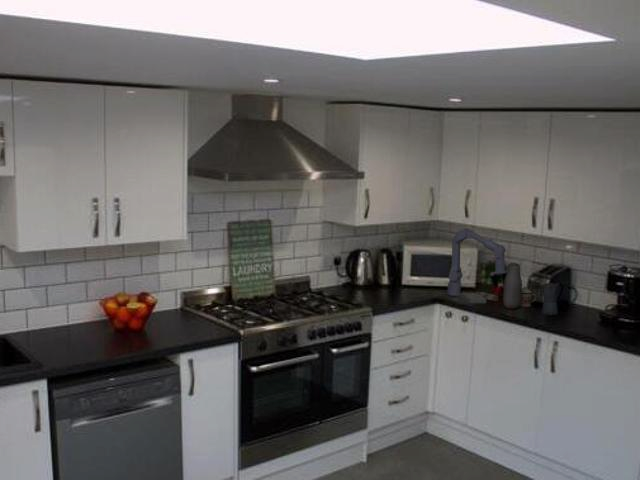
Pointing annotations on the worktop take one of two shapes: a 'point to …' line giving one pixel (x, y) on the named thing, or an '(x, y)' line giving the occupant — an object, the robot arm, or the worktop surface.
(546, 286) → the moka pot
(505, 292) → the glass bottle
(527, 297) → the teacup with lid
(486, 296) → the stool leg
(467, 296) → the seat panel
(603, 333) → the worktop surface
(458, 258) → the robot arm
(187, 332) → the worktop surface
